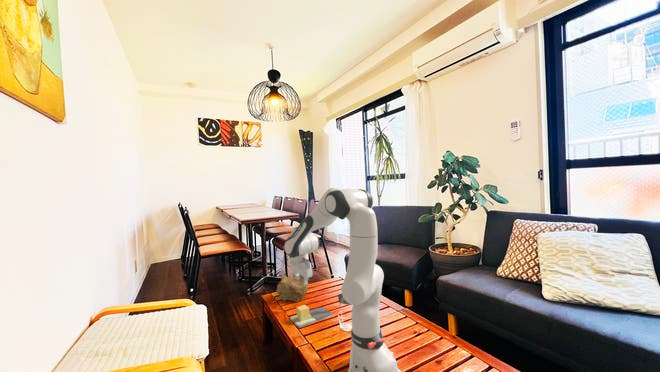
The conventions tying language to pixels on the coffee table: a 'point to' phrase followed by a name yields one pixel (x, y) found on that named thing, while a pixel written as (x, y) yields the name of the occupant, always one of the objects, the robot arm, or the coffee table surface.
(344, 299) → the dark grey rock
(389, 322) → the coffee table surface
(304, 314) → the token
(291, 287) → the rough brown rock
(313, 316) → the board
